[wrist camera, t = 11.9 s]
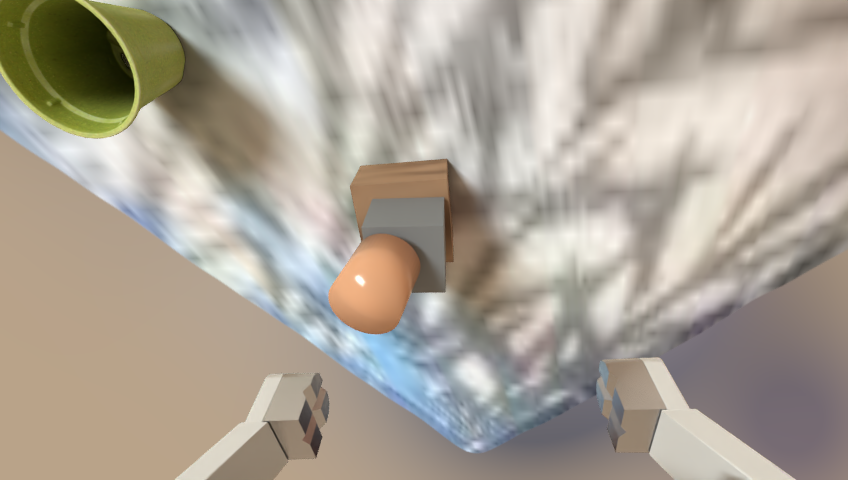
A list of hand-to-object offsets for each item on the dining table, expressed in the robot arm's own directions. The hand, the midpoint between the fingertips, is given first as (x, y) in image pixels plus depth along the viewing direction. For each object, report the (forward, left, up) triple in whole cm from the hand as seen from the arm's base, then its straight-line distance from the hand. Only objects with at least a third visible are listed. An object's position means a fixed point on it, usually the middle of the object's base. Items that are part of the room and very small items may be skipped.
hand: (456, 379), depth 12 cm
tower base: (+7, -5, -28) cm, 29 cm away
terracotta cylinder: (+7, -5, -17) cm, 19 cm away
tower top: (+7, -4, -23) cm, 24 cm away
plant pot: (-9, -24, -28) cm, 38 cm away
